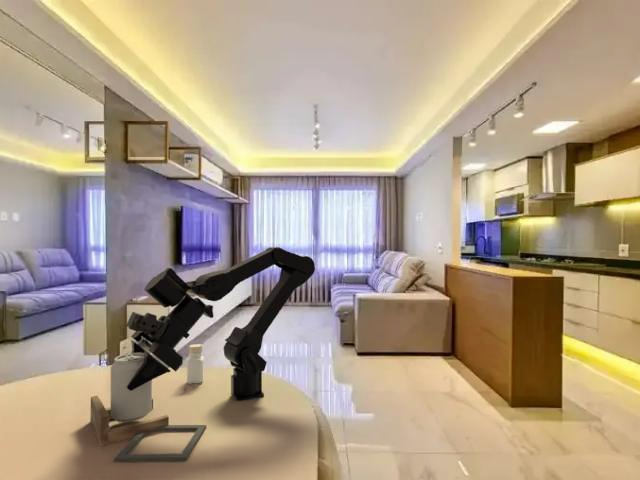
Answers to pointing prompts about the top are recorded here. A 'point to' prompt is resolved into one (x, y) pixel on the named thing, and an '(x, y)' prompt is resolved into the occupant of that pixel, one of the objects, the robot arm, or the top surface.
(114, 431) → the dock
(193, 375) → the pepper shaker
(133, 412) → the can
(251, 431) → the top surface
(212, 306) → the robot arm
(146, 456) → the holster frame
